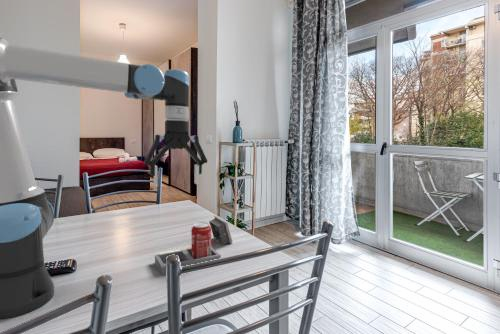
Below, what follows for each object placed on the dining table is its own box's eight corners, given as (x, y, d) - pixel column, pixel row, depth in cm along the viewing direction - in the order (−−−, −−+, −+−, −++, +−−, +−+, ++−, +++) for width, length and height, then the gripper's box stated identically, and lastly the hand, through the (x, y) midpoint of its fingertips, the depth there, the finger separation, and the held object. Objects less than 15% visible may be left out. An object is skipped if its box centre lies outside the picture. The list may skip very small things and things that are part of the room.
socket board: (161, 274, 91) (161, 265, 91) (155, 262, 100) (154, 253, 99) (220, 262, 100) (220, 254, 100) (210, 252, 109) (209, 244, 108)
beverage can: (202, 254, 107) (201, 220, 105) (215, 259, 103) (214, 224, 101) (187, 260, 102) (187, 224, 100) (200, 265, 98) (200, 228, 96)
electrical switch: (233, 243, 117) (231, 220, 115) (220, 247, 114) (218, 223, 112) (221, 236, 125) (219, 214, 123) (210, 239, 122) (207, 217, 120)
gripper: (137, 118, 91) (138, 189, 94) (217, 121, 102) (216, 184, 105) (134, 118, 98) (135, 184, 100) (209, 121, 109) (208, 181, 112)
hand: (176, 184), depth 103 cm, fingers open, 13 cm apart
